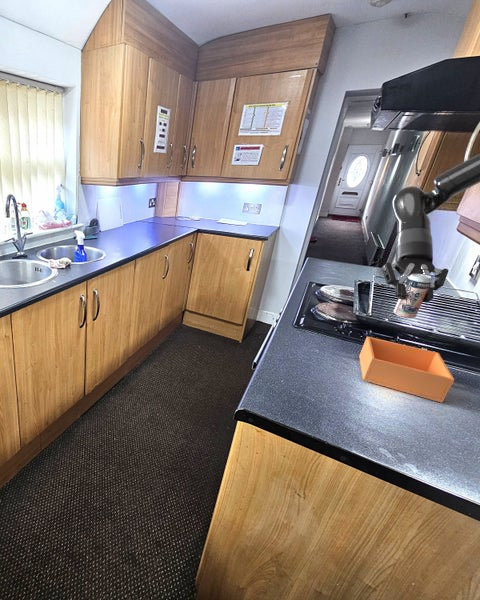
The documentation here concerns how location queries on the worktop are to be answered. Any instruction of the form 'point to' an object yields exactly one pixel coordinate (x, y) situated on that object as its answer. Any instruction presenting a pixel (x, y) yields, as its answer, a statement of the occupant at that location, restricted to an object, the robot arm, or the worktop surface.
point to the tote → (405, 369)
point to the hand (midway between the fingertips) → (414, 299)
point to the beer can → (413, 295)
